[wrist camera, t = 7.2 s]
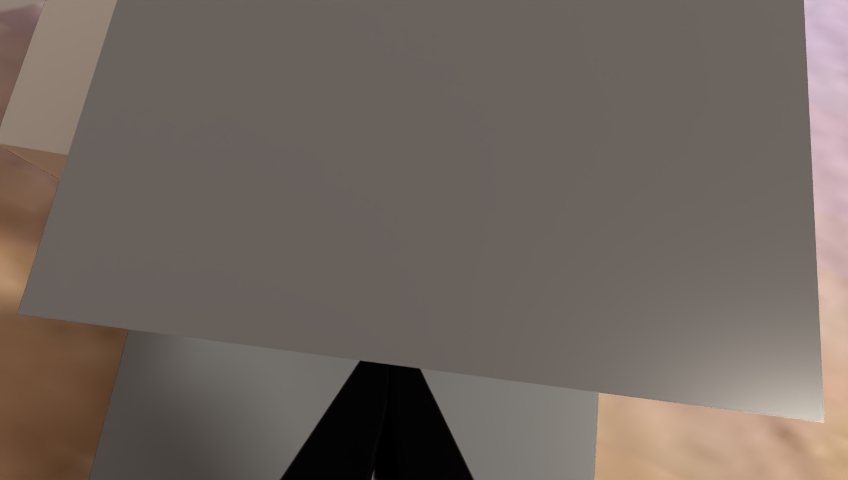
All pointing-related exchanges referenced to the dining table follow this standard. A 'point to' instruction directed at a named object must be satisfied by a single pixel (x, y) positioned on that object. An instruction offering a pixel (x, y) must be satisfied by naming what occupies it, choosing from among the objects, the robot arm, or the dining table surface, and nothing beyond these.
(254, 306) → the plug
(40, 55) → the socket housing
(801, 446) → the dining table surface
